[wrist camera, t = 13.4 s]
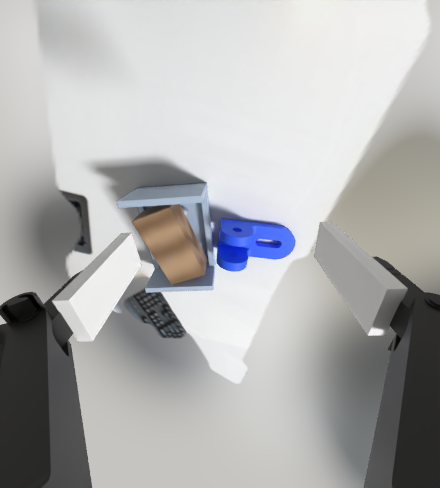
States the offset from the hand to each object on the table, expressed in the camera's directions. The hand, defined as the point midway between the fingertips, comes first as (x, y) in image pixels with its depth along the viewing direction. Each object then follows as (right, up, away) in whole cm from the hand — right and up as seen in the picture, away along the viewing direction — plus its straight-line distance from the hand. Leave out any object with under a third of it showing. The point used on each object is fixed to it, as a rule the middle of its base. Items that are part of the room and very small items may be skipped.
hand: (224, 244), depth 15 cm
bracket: (+8, +2, +36) cm, 37 cm away
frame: (-10, +4, +35) cm, 36 cm away
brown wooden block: (-10, +2, +31) cm, 33 cm away
